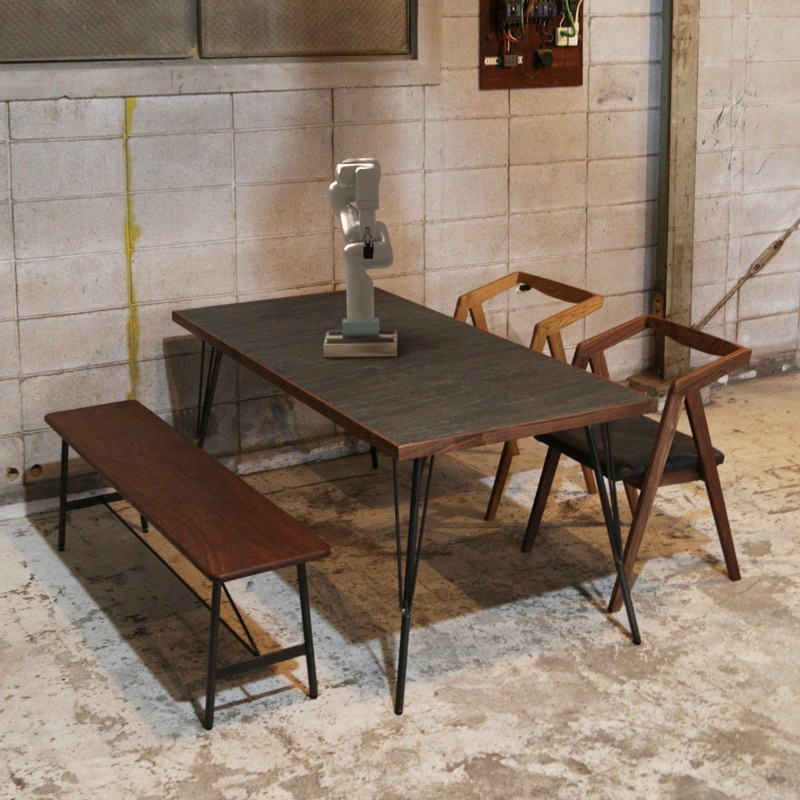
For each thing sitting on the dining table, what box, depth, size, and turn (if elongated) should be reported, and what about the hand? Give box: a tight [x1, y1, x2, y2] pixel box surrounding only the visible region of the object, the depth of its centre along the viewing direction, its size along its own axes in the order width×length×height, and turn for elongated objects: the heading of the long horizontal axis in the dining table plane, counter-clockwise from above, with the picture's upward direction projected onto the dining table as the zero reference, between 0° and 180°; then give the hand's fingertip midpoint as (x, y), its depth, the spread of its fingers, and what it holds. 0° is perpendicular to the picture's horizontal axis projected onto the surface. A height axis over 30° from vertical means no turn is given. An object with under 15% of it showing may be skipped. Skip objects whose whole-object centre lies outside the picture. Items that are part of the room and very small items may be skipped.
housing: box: [341, 317, 380, 338], centre depth 430 cm, size 12×6×6 cm, turn 90°
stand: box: [323, 329, 398, 358], centre depth 431 cm, size 18×24×5 cm
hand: (368, 256), depth 430 cm, fingers open, 9 cm apart
